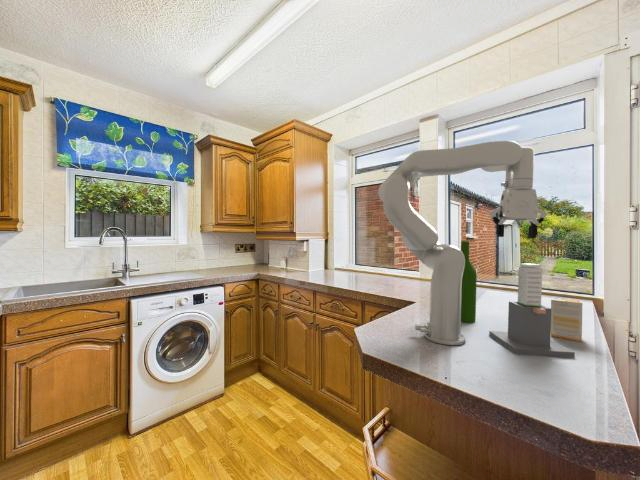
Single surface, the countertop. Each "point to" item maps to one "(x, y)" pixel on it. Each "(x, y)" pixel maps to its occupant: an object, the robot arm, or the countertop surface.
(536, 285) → the column
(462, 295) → the wine bottle
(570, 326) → the supplement box
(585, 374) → the countertop surface
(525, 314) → the stand
